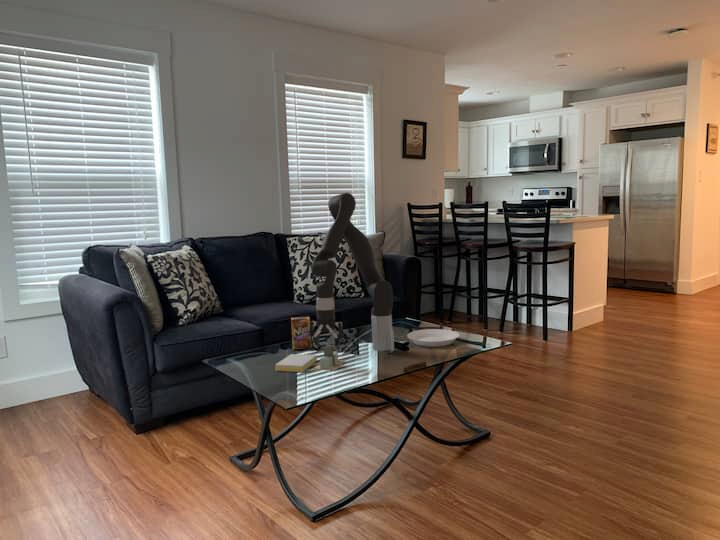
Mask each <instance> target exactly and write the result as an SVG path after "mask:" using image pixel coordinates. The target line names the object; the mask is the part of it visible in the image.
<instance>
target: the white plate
mask: <svg viewBox="0 0 720 540" xmlns="http://www.w3.org/2000/svg"><path fill="white" fill-rule="evenodd" d="M406 336H407V338H408V339H410V340H411V341H412V342H413V343H414V344H415V345H417V346H420V347H429V348H431V347H432V348H436V347H446V346H448V345H449V346H450V345H451V344H453V342H454V341H455V340H456V339H457V338H459V336H460V333H459V332H457V331H454V330H451V329H450V330H449V329H445V328H444V329H442V328H428V329H427V328H425V329H420V330H419V329H418V330H414V331H411V332H409V333H407V335H406Z"/></svg>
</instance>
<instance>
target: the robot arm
mask: <svg viewBox="0 0 720 540" xmlns="http://www.w3.org/2000/svg"><path fill="white" fill-rule="evenodd" d="M356 206H357V201H356V199H355V197H354V195H352V193H349V192H345V193H340V194H337V195H335V196H332V197H330V198H329V200H328V201H327V207H328V210H329V213H330V214H331V217H332V218H333V220H334V221H333V223H332V225H331V226H330V227H329V228H328V231H327V232H326V233H325V235H324V238H323V241H322V244H321V247H320V249H319V251H318V253H317V254H316V256H315V258H314V259H313V261H312V262H311V265H310V270H311V274H312V275H313V276H314V277H321V278H325V279H324V281H323V282H318V283H317V284H316V287H315V289H316V290H315V291H316V302H315V308H316V321H315V320H310V336H311V337H313V338H314V339H313V340H314V341H313V342H314V345H315V347H319V345H320V336H319V335H320V333H331V334H332V335H333V337H334V347H336V348H337V347H339V346H340V343H341V342H340V338H341V337H343V336H344V333H345V332H344V324H343V321H339V322H338V321H337V322H336V312H335V309H336V308H335V307H336V306H335V298H334V296H335V295H334V285H335V280H336V275H337V270H338V267H337V264H336V262H335V261H334V260H332V259H334V258H336V256H337V254H338V251H339V248H340V244H341V241H342V238H344V240H345V242H346V244H347V246H348V249H349V251H350V253H351V255H352V258H353V260H354V261H355V264H356V265H357V267H358V269H359V271H360V273H361V276H362V278H363V281H364V283H365V287H366V289H367V293H368V294H369V296H370V297H371V298H372V299H373V307H372V308H371V309H370V314H371V318H370V320H371V334H372V335H371V337H372V339H371V340H372V351H375V352H387V354H392V353H393V352H394V351H395V337H394V329H393V315H392V310H393V307H394V306H393V305H394V295H393V294H394V291H393V286H392V284H391V283H390V282H389V281H388V280H384V279H383V278H382V277H381V275H380V273H379V271H378V269H377V268H376V267H377V266H376V263H375V256H374V251H373V248H372V246H371V243H370V242H369V239H368V237H367V236H366V235H365V233H363V232H362V231H361V230H360V229H359V228H357V227H356V226H355V225H354V224H353V222H351V219H352V216H353V214H354V211H356V210H355V209H356ZM316 326H317V329H315V327H316ZM335 327H337V328H338V330H337V329H336V328H335Z"/></svg>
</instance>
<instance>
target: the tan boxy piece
mask: <svg viewBox="0 0 720 540" xmlns="http://www.w3.org/2000/svg"><path fill="white" fill-rule="evenodd" d="M333 352H334V344H332V345H330V344H325V345H324V346H323V356H329V357H332V362H333V366H332V367H331V368H330V369H321V368H320V362H319V363H318V364H317V365H316V366H314V367H313V368H312V370H315V371H316V370H319V371H321V370H322V371H336V370H338V369H339V368H340V367H341V366H342V365H343V364H344V363H345V362H346V360H345V359H342V360H341V359H340V360H339V359H338V362H337V363H336V364H334V356H333Z"/></svg>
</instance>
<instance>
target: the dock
mask: <svg viewBox="0 0 720 540" xmlns="http://www.w3.org/2000/svg"><path fill="white" fill-rule="evenodd" d="M317 361H318V356H317V354H301V353H300V354H298V353H291V354H289V355H288V356H286V357H284V358H283V359H282V360H280V361H279V362H277V363H275V365H274V366H275V367H274V368H275V369H274V370H275V372H293V373H294V372H296V373H303V372H305V371H306V370H307V369H309V368H310V367H311V366H312V365H314V364H315V363H316V362H317Z"/></svg>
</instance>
